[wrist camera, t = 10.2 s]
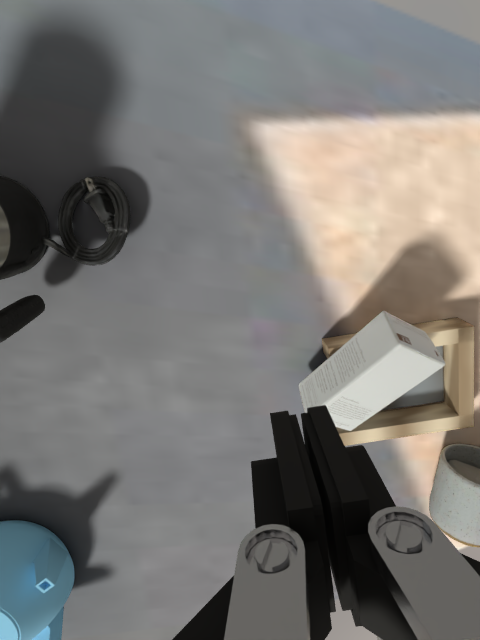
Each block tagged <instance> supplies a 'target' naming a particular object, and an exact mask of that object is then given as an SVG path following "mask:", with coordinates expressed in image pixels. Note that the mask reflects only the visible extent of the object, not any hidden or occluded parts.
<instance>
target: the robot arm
mask: <svg viewBox="0 0 480 640" xmlns="http://www.w3.org/2000/svg"><path fill="white" fill-rule="evenodd" d="M270 416H271V423H272V429H273V436H274V442H275V449H276V455H277V458H271V459H264V460H258V461H251V468H252V483H253V497H254V512H255V526H256V529H254V530H253V531H251V532H250V533H249V534H247V535H246V536H245V538H244V539H243V540H242V542H241V544H240V547H239V550H238V555H237V561H236V568H235V574H234V576H233V577H232V578H231V579H230V580H229V581H228V582H227V583H226V584H225V585H224V586H223V587H222V588H221V590H220V591H219V592H218V593H217V594H216V595H215V596H214V597H213V598H212V599H211V600H210V601H209V602H208V603H207V604H206V605H205V606H204V607H203V608H202V609H201V610H200V611H199V612H198V613H197V615H196V616H195V617H194V618H193V619H192V620H191V621H190V622H189V623H188V624H187V625H186V626H185V627H184V628H183V629H182V630H181V631H180V632H179V633H178V634H177V635H176V636H175V637H174V639H173V640H325V638H326V637H327V635H328V634H329V632H330V631H331V629H332V626H331V618H330V612H335V611H336V609H335V601H334V593H333V585H332V576H331V570H332V574H333V577H334V581H335V585H336V589H337V592H338V596H339V600H340V603H341V607H342V610H343V611H345V610H351V612H352V615H353V619H354V622H355V625H356V626H363V627H365V628H366V629H368V630H369V631H371V632H372V633H374V634H375V635H377V638H378V640H480V562H479V561H477V560H474V559H472V558H470V557H468V556H465V555H463V554H461V553H460V552H459V551H458V550H457V549H456V548H455V546H454V545H453V544H452V543H451V542H450V541H449V539H448V538H447V537H446V536H445V535H444V534H443V532H442V531H441V530H440V529H439V528H438V526H437V525H436V524H435V523H434V522H433V521H432V520H431V519H430V518H429V517H427V516H426V515H424V514H422V513H421V512H419V511H417V510H413V509H410V508H407V507H396V505H395V504H394V502H393V500H392V498H391V496H390V494H389V492H388V490H387V489H386V487H385V485H384V483H383V481H382V479H381V477H380V476H379V474H378V472H377V470H376V468H375V466H374V464H373V462H372V461H371V459H370V457H369V455H368V453H367V451H366V449H365V448H364V446H362V445H359V446H352V447H346V448H345V446H344V444H343V441H342V439H341V437H340V435H339V433H338V431H337V428H336V426H335V424H334V422H333V420H332V417H331V415H330V413H329V411H328V409H327V407H326V405H322V406H315V407H309V408H307V413H302V414H301V418H302V426H303V434H304V441H305V444H304V441H303V437H302V434H301V430H300V427H299V424H298V420H297V417H296V414H295V415H289V413H288V411H282V412H276V413H270ZM330 566H331V568H330Z"/></svg>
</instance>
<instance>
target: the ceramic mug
mask: <svg viewBox="0 0 480 640" xmlns="http://www.w3.org/2000/svg"><path fill="white" fill-rule="evenodd" d="M429 511H430V515H431V517H432V519H433V521H434V522H435V524H436V525H437V526H438V527H439V528H440V529H441V530H442V531H443V532H444V533H445V534H446V535H448V536H449V537H451V538H452V539H454V540H456V541H458V542H460V543H462V544H465V545H468V546H472V547H480V447H478V446H473V445H468V444H451V445H448V446H446V447H444V449H443V450H442V452H441V454H440V459H439V463H438V467H437V471H436V475H435V479H434V484H433V487H432V491H431V494H430V501H429Z"/></svg>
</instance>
